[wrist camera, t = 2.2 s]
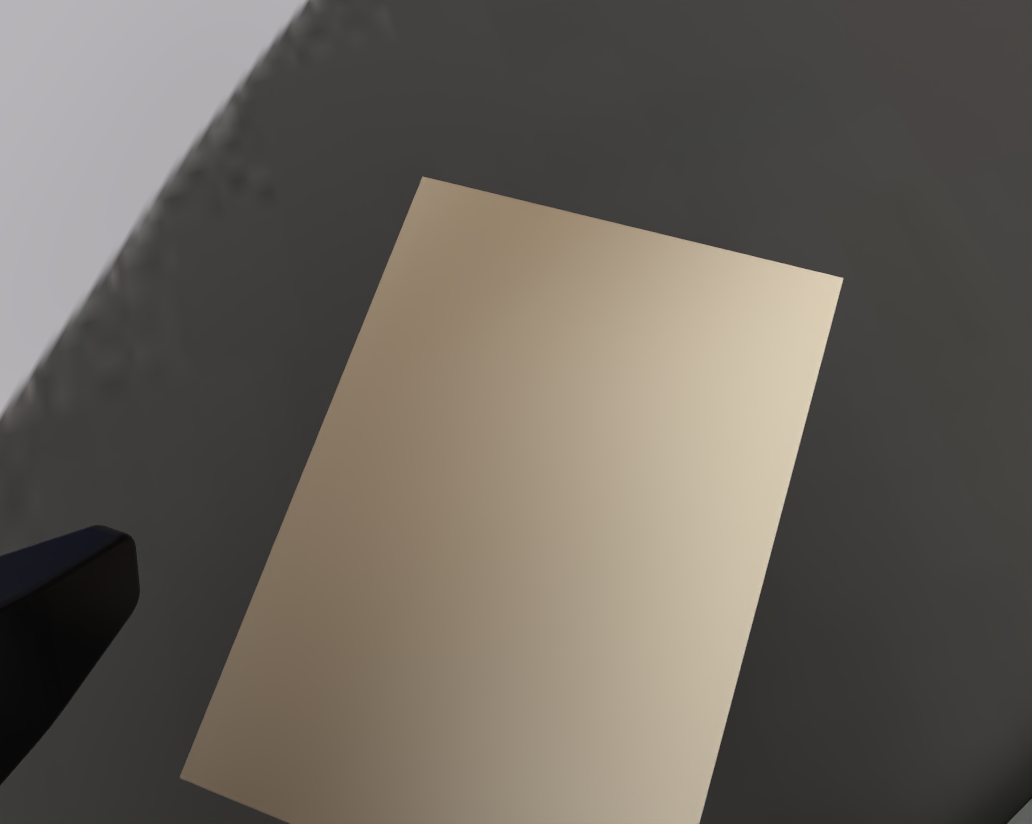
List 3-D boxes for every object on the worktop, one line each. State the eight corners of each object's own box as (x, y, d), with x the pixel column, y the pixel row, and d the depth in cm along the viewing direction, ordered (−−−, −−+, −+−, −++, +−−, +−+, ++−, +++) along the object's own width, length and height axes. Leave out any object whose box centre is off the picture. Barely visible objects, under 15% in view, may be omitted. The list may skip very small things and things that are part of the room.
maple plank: (710, 535, 18) (843, 278, 7) (639, 786, 17) (660, 975, 6) (546, 484, 19) (422, 175, 8) (467, 722, 18) (178, 777, 6)
